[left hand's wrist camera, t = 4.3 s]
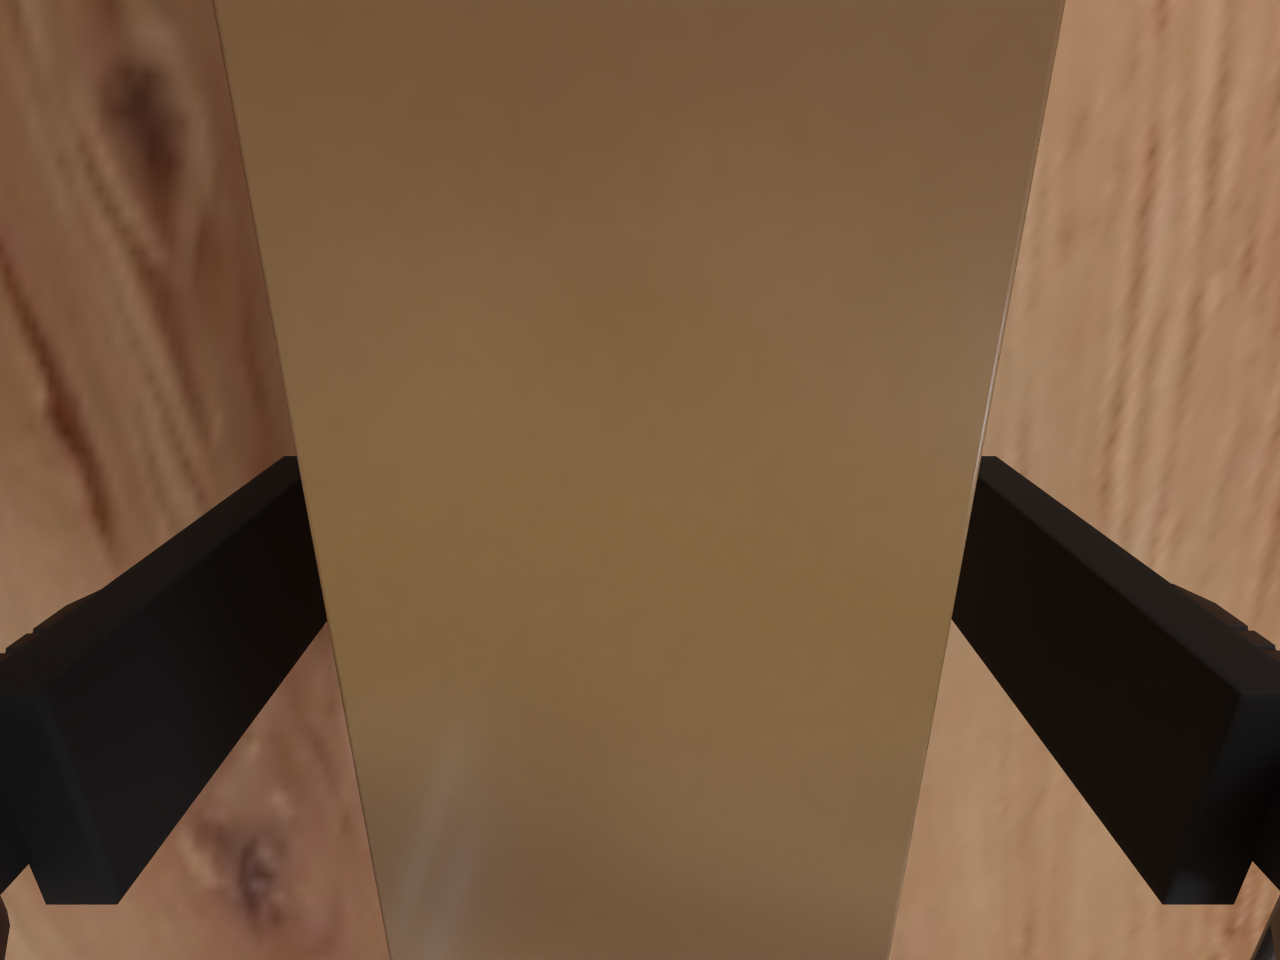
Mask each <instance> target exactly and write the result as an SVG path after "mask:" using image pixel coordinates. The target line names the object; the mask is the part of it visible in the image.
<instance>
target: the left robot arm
mask: <svg viewBox="0 0 1280 960" xmlns="http://www.w3.org/2000/svg"><path fill="white" fill-rule="evenodd" d="M951 619H952V620H953V622H954V623H955V624H956V626H957V627H958V628H959V630H960V631H961V632H962V634H963V635H964V636H965V638H966V639H967V640H968V642H969V643H970V645H971V646H972V647H973V649H974V650H975V651H976V653H977V654H978V655H979V657H980V658H981V659H982V661H983V662H984V663H985V665H986V666H987V668H988V669H989V670H990V672H991V673H992V674H993V676H994V677H995V678H996V680H997V681H998V682H999V684H1000V685H1001V686H1002V688H1003V689H1004V691H1005V692H1006V693H1007V695H1008V696H1009V697H1010V699H1011V700H1012V701H1013V703H1014V704H1015V705H1016V707H1017V708H1018V709H1019V711H1020V712H1021V714H1022V715H1023V716H1024V718H1025V719H1026V720H1027V722H1028V723H1029V724H1030V726H1031V727H1032V728H1033V730H1034V731H1035V732H1036V734H1037V735H1038V737H1039V738H1040V739H1041V741H1042V742H1043V743H1044V745H1045V746H1046V747H1047V749H1048V750H1049V751H1050V753H1051V754H1052V755H1053V757H1054V758H1055V760H1056V761H1057V762H1058V764H1059V765H1060V766H1061V768H1062V769H1063V770H1064V772H1065V773H1066V774H1067V776H1068V777H1069V778H1070V780H1071V781H1072V783H1073V784H1074V785H1075V787H1076V788H1077V789H1078V791H1079V792H1080V793H1081V795H1082V796H1083V797H1084V799H1085V800H1086V801H1087V803H1088V804H1089V806H1090V807H1091V808H1092V810H1093V811H1094V812H1095V814H1096V815H1097V816H1098V818H1099V819H1100V820H1101V822H1102V823H1103V824H1104V826H1105V827H1106V829H1107V830H1108V831H1109V833H1110V834H1111V835H1112V837H1113V838H1114V839H1115V841H1116V842H1117V843H1118V845H1119V846H1120V847H1121V849H1122V850H1123V852H1124V853H1125V854H1126V856H1127V857H1128V858H1129V860H1130V861H1131V862H1132V864H1133V865H1134V866H1135V868H1136V869H1137V870H1138V872H1139V873H1140V875H1141V876H1142V877H1143V879H1144V880H1145V881H1146V883H1147V884H1148V885H1149V887H1150V888H1151V889H1152V891H1153V892H1154V893H1155V895H1156V896H1157V898H1158V899H1159V900H1160V902H1161V903H1162V904H1234V903H1235V900H1236V898H1237V896H1238V893H1239V891H1240V888H1241V886H1242V884H1243V881H1244V879H1245V877H1246V874H1247V872H1248V870H1249V867H1250V865H1251V863H1252V861H1253V862H1254V863H1255V864H1256V865H1257V866H1258V867H1259V869H1260V870H1261V871H1262V872H1263V873H1264V874H1265V875H1266V876H1267V877H1268V878H1269V879H1270V880H1271V882H1272V883H1273V884H1274V885H1275V886H1276V887H1277V888H1278V889H1279V890H1280V651H1276V649H1275V645H1274V644H1272V643H1271V642H1270V641H1268V640H1267V639H1265V638H1264V637H1262V636H1261V635H1260V634H1258V633H1257V632H1255V631H1248V626H1247V625H1245V624H1244V623H1243V622H1241V621H1240V620H1238V619H1237V618H1236V617H1234V616H1233V615H1231V614H1230V613H1228V612H1227V611H1226V610H1224V609H1223V608H1221V607H1220V606H1219V605H1217V604H1216V603H1214V602H1212V601H1209V600H1207V599H1205V598H1203V597H1201V596H1198V595H1196V594H1194V593H1192V592H1190V591H1188V590H1185V589H1183V588H1181V587H1179V586H1177V585H1175V584H1171V583H1169V582H1168V581H1167V580H1165V579H1164V578H1162V577H1161V576H1160V575H1158V574H1157V573H1156V572H1154V571H1153V570H1151V569H1150V568H1149V567H1147V566H1146V565H1145V564H1143V563H1142V562H1140V561H1139V560H1138V559H1136V558H1135V557H1134V556H1132V555H1131V554H1129V553H1128V552H1127V551H1125V550H1124V549H1123V548H1121V547H1120V546H1118V545H1117V544H1116V543H1114V542H1113V541H1112V540H1110V539H1109V538H1107V537H1106V536H1105V535H1103V534H1102V533H1101V532H1099V531H1098V530H1096V529H1095V528H1094V527H1092V526H1091V525H1090V524H1088V523H1087V522H1085V521H1084V520H1083V519H1081V518H1080V517H1079V516H1077V515H1076V514H1074V513H1073V512H1072V511H1070V510H1069V509H1068V508H1066V507H1065V506H1063V505H1062V504H1061V503H1059V502H1058V501H1057V500H1055V499H1054V498H1052V497H1051V496H1050V495H1048V494H1047V493H1046V492H1044V491H1043V490H1041V489H1040V488H1039V487H1037V486H1036V485H1035V484H1033V483H1032V482H1030V481H1029V480H1028V479H1026V478H1025V477H1024V476H1022V475H1021V474H1019V473H1018V472H1017V471H1015V470H1014V469H1013V468H1011V467H1010V466H1008V465H1007V464H1006V463H1004V462H1003V461H1002V460H1000V459H999V458H997V457H996V456H981V461H980V466H979V472H978V477H977V483H976V488H975V494H974V499H973V504H972V510H971V515H970V521H969V526H968V531H967V537H966V542H965V548H964V553H963V559H962V564H961V569H960V575H959V580H958V586H957V591H956V597H955V602H954V607H953V613H952V618H951ZM326 622H327V616H326V610H325V605H324V599H323V594H322V589H321V583H320V578H319V572H318V567H317V562H316V556H315V551H314V545H313V540H312V535H311V529H310V524H309V519H308V513H307V508H306V502H305V497H304V492H303V486H302V481H301V475H300V470H299V465H298V459H297V456H284V457H283V458H281V459H280V460H278V461H277V462H276V463H274V464H273V465H272V466H270V467H269V468H267V469H266V470H265V471H263V472H262V473H261V474H259V475H258V476H256V477H255V478H254V479H252V480H251V481H250V482H248V483H247V484H245V485H244V486H243V487H241V488H240V489H239V490H237V491H236V492H234V493H233V494H232V495H230V496H229V497H228V498H226V499H225V500H223V501H222V502H221V503H219V504H218V505H217V506H215V507H214V508H212V509H211V510H210V511H208V512H207V513H206V514H204V515H203V516H201V517H200V518H199V519H197V520H196V521H195V522H193V523H192V524H190V525H189V526H188V527H186V528H185V529H184V530H182V531H181V532H179V533H178V534H177V535H175V536H174V537H173V538H171V539H170V540H168V541H167V542H166V543H164V544H163V545H162V546H160V547H159V548H157V549H156V550H155V551H153V552H152V553H151V554H149V555H148V556H146V557H145V558H144V559H142V560H141V561H140V562H138V563H137V564H135V565H134V566H133V567H131V568H130V569H129V570H127V571H126V572H124V573H123V574H122V575H120V576H119V577H118V578H116V579H115V580H113V581H112V582H111V583H109V584H108V585H107V586H105V587H104V588H102V589H101V590H99V591H97V592H95V593H92V594H90V595H88V596H86V597H84V598H82V599H79V600H77V601H75V602H73V603H71V604H69V605H66V606H65V607H63V608H62V609H61V610H59V611H58V612H56V613H55V614H54V615H52V616H51V617H49V618H48V619H46V620H45V621H44V622H42V623H41V624H39V625H38V626H37V627H35V628H34V629H33V633H32V634H25V635H24V636H23V637H21V638H20V639H18V640H17V641H16V642H14V643H13V644H11V645H10V646H9V647H7V648H6V652H5V653H0V895H1V894H2V892H3V891H4V890H5V889H6V888H7V887H8V886H9V885H10V884H11V883H12V882H13V880H14V879H15V878H16V877H17V876H18V875H19V874H20V873H21V872H22V871H23V870H24V868H25V867H26V866H27V865H28V864H29V865H30V867H31V870H32V872H33V874H34V877H35V879H36V881H37V884H38V886H39V889H40V891H41V893H42V896H43V898H44V900H45V903H46V904H118V903H119V902H120V900H121V899H122V897H123V896H124V895H125V893H126V892H127V891H128V889H129V888H130V887H131V885H132V884H133V883H134V881H135V880H136V879H137V877H138V876H139V874H140V873H141V872H142V870H143V869H144V868H145V866H146V865H147V864H148V862H149V861H150V860H151V858H152V857H153V856H154V854H155V853H156V851H157V850H158V849H159V847H160V846H161V845H162V843H163V842H164V841H165V839H166V838H167V837H168V835H169V834H170V833H171V831H172V830H173V829H174V827H175V826H176V824H177V823H178V822H179V820H180V819H181V818H182V816H183V815H184V814H185V812H186V811H187V810H188V808H189V807H190V806H191V804H192V803H193V801H194V800H195V799H196V797H197V796H198V795H199V793H200V792H201V791H202V789H203V788H204V787H205V785H206V784H207V783H208V781H209V780H210V778H211V777H212V776H213V774H214V773H215V772H216V770H217V769H218V768H219V766H220V765H221V764H222V762H223V761H224V760H225V758H226V757H227V755H228V754H229V753H230V751H231V750H232V749H233V747H234V746H235V745H236V743H237V742H238V741H239V739H240V738H241V737H242V735H243V734H244V732H245V731H246V730H247V728H248V727H249V726H250V724H251V723H252V722H253V720H254V719H255V718H256V716H257V715H258V714H259V712H260V711H261V709H262V708H263V707H264V705H265V704H266V703H267V701H268V700H269V699H270V697H271V696H272V695H273V693H274V692H275V691H276V689H277V688H278V686H279V685H280V684H281V682H282V681H283V680H284V678H285V677H286V676H287V674H288V673H289V672H290V670H291V669H292V668H293V666H294V665H295V663H296V662H297V661H298V659H299V658H300V657H301V655H302V654H303V653H304V651H305V650H306V649H307V647H308V646H309V645H310V643H311V642H312V640H313V639H314V638H315V636H316V635H317V634H318V632H319V631H320V630H321V628H322V627H323V626H324V624H325V623H326ZM9 928H10V923H9V918H8V913H7V909H6V907H5V905H4V902H3V900H2V898H1V896H0V960H4V959H5V953H6V947H7V941H8V934H9ZM1250 960H1280V896H1279V898H1278V900H1277V902H1276V905H1275V907H1274V909H1273V911H1272V913H1271V916H1270V918H1269V920H1268V922H1267V924H1266V926H1265V929H1264V931H1263V933H1262V935H1261V937H1260V940H1259V942H1258V944H1257V946H1256V948H1255V951H1254V953H1253V955H1252V957H1251V959H1250Z"/></svg>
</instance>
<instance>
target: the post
mask: <svg viewBox="0 0 1280 960" xmlns="http://www.w3.org/2000/svg"><path fill="white" fill-rule="evenodd" d="M212 1H213V6H214V12H215V17H216V22H217V28H218V33H219V39H220V44H221V49H222V55H223V60H224V66H225V71H226V76H227V82H228V87H229V93H230V98H231V103H232V109H233V114H234V119H235V125H236V130H237V136H238V141H239V146H240V152H241V157H242V163H243V168H244V173H245V179H246V184H247V190H248V195H249V200H250V206H251V211H252V217H253V222H254V227H255V233H256V238H257V243H258V249H259V254H260V260H261V265H262V270H263V276H264V281H265V287H266V292H267V297H268V303H269V308H270V314H271V319H272V324H273V330H274V335H275V341H276V346H277V351H278V357H279V362H280V368H281V373H282V378H283V384H284V389H285V394H286V400H287V405H288V411H289V416H290V421H291V427H292V432H293V438H294V443H295V448H296V454H297V459H298V465H299V470H300V475H301V481H302V486H303V492H304V497H305V502H306V508H307V513H308V519H309V524H310V529H311V535H312V540H313V545H314V551H315V556H316V562H317V567H318V572H319V578H320V583H321V589H322V594H323V599H324V605H325V610H326V616H327V621H328V626H329V632H330V637H331V643H332V648H333V653H334V659H335V664H336V670H337V675H338V680H339V686H340V691H341V696H342V702H343V707H344V713H345V718H346V723H347V729H348V734H349V740H350V745H351V750H352V756H353V761H354V767H355V772H356V777H357V783H358V788H359V794H360V799H361V804H362V810H363V815H364V821H365V826H366V831H367V837H368V842H369V847H370V853H371V858H372V864H373V869H374V874H375V880H376V885H377V891H378V896H379V901H380V907H381V912H382V918H383V923H384V928H385V934H386V939H387V945H388V950H389V955H390V960H889V954H890V949H891V944H892V938H893V933H894V927H895V922H896V916H897V911H898V906H899V900H900V895H901V889H902V884H903V878H904V873H905V868H906V862H907V857H908V851H909V846H910V841H911V835H912V830H913V824H914V819H915V813H916V808H917V803H918V797H919V792H920V786H921V781H922V775H923V770H924V765H925V759H926V754H927V748H928V743H929V738H930V732H931V727H932V721H933V716H934V710H935V705H936V700H937V694H938V689H939V683H940V678H941V672H942V667H943V662H944V656H945V651H946V645H947V640H948V635H949V629H950V624H951V618H952V613H953V607H954V602H955V597H956V591H957V586H958V580H959V575H960V569H961V564H962V559H963V553H964V548H965V542H966V537H967V531H968V526H969V521H970V515H971V510H972V504H973V499H974V494H975V488H976V483H977V477H978V472H979V466H980V461H981V456H982V450H983V445H984V439H985V434H986V428H987V423H988V418H989V412H990V407H991V401H992V396H993V391H994V385H995V380H996V374H997V369H998V363H999V358H1000V353H1001V347H1002V342H1003V336H1004V331H1005V325H1006V320H1007V315H1008V309H1009V304H1010V298H1011V293H1012V288H1013V282H1014V277H1015V271H1016V266H1017V260H1018V255H1019V250H1020V244H1021V239H1022V233H1023V228H1024V222H1025V217H1026V212H1027V206H1028V201H1029V195H1030V190H1031V184H1032V179H1033V174H1034V168H1035V163H1036V157H1037V152H1038V147H1039V141H1040V136H1041V130H1042V125H1043V119H1044V114H1045V109H1046V103H1047V98H1048V92H1049V87H1050V81H1051V76H1052V71H1053V65H1054V60H1055V54H1056V49H1057V44H1058V38H1059V33H1060V27H1061V22H1062V16H1063V11H1064V6H1065V0H212Z"/></svg>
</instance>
